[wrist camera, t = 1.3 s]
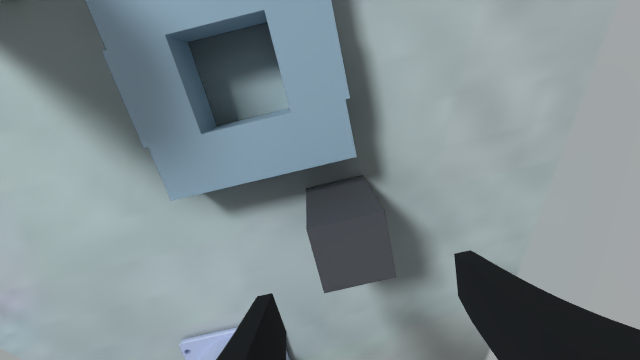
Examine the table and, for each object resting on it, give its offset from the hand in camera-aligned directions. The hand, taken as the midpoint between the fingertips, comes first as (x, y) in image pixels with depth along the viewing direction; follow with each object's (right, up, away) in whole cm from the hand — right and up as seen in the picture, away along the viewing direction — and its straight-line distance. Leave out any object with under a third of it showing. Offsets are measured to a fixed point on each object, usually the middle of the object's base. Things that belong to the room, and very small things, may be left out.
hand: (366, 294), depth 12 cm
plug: (0, +2, +10) cm, 10 cm away
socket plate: (-7, +11, +6) cm, 14 cm away
